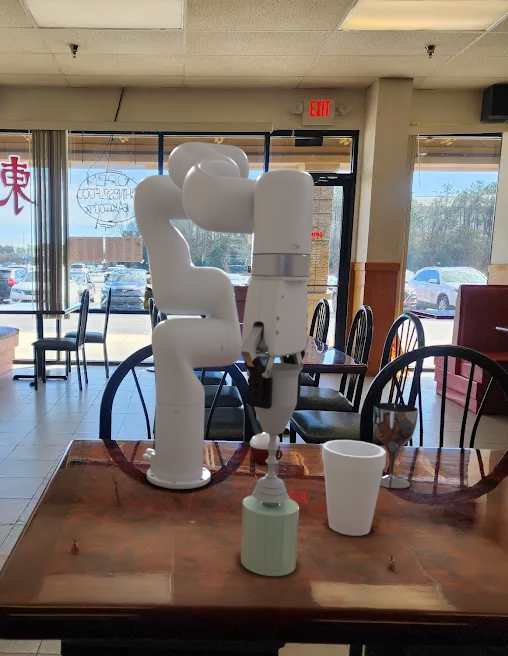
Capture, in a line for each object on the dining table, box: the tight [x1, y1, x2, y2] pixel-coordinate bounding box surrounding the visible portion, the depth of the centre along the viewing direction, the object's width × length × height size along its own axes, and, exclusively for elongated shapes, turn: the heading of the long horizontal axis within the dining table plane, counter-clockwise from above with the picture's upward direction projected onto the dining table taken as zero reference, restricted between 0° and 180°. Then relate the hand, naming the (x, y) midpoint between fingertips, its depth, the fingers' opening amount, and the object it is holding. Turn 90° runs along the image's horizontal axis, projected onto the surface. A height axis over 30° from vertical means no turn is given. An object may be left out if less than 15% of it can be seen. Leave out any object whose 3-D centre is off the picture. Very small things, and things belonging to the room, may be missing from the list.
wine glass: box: [372, 402, 419, 489], centre depth 112 cm, size 8×8×15 cm
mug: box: [240, 494, 300, 577], centre depth 81 cm, size 10×8×8 cm
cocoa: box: [245, 403, 283, 465], centre depth 123 cm, size 10×6×12 cm, turn 16°
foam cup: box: [321, 439, 387, 536], centre depth 91 cm, size 10×9×13 cm
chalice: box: [251, 362, 303, 503], centre depth 77 cm, size 7×7×18 cm
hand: (274, 401), depth 77 cm, fingers closed on chalice, 7 cm apart
